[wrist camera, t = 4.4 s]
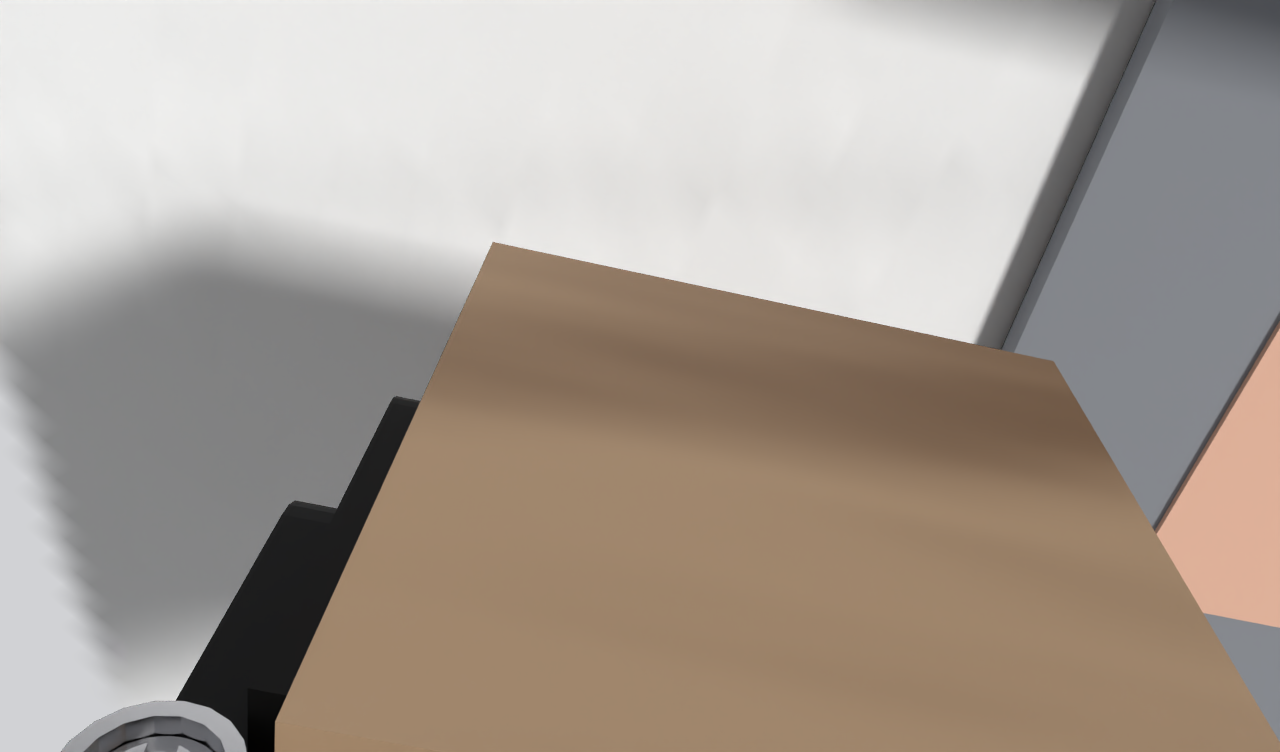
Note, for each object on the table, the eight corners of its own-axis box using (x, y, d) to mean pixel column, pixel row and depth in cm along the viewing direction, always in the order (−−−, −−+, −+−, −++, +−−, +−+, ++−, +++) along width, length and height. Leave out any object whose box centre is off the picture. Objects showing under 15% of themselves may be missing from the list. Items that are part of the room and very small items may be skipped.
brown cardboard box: (493, 241, 10) (267, 738, 5) (1053, 360, 10) (1397, 941, 5) (436, 647, 13) (261, 1214, 8) (870, 728, 14) (973, 1323, 8)
